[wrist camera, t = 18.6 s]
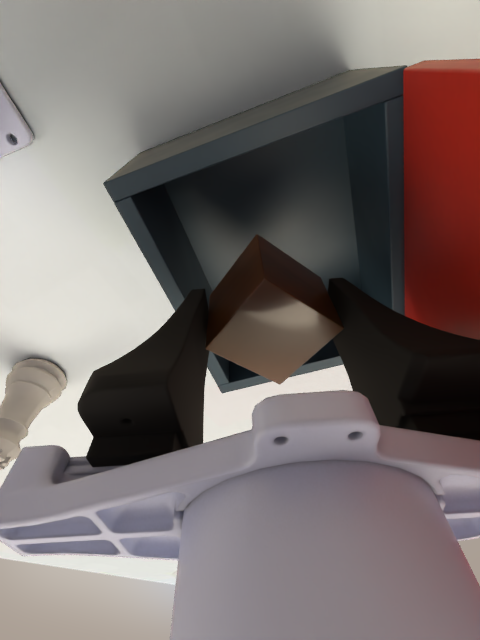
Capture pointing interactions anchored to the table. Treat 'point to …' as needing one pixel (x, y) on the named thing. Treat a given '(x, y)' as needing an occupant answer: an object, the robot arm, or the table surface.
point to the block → (270, 313)
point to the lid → (442, 194)
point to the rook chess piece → (26, 402)
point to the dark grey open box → (279, 196)
